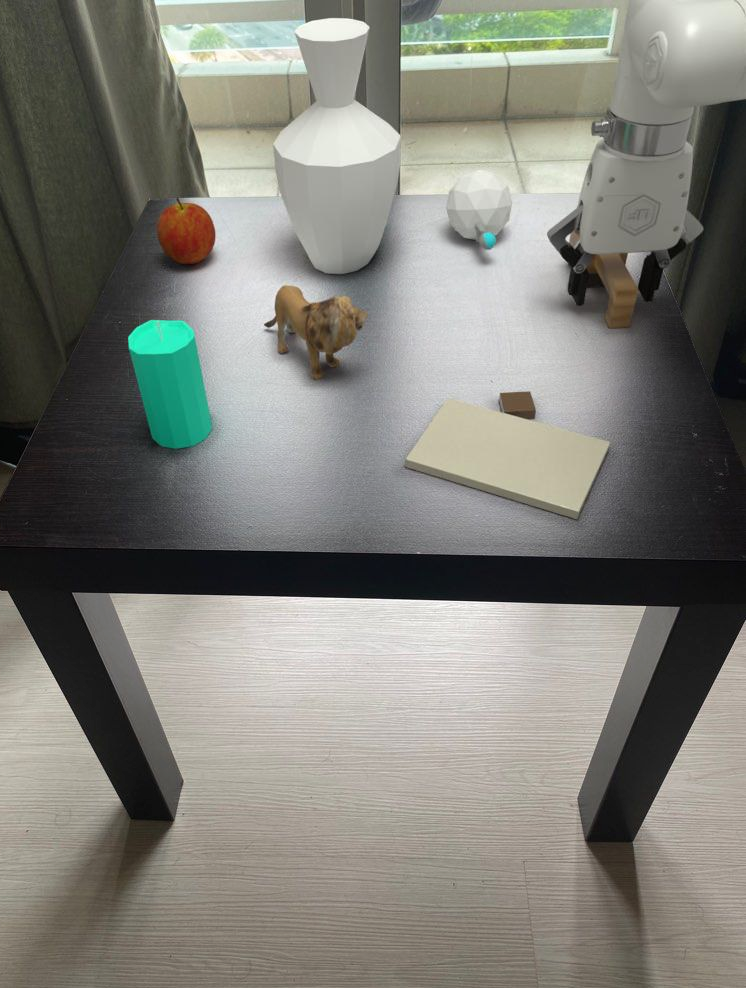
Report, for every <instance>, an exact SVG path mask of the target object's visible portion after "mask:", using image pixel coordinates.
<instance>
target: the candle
mask: <svg viewBox="0 0 746 988" xmlns="http://www.w3.org/2000/svg"><path fill="white" fill-rule="evenodd" d="M127 341H128V350H129V355H130V357H131V362H132V366H133V369H134V372H135V377H136V381H137V385H138V388H139V392H140V396H141V397H140V398H141V400H142V405H143V408H144V412H145V416H146V420H147V423H148V427H149V431H150V436H151V438H152V440H153V441H155V442H156V443H157V444H158V445H159V446H160V447H164V448H169V449H175V450H177V449H184V448H191V447H193V446H196V445H197V444H199V443H202V442H203V441H204V440H206V439H207V438H208V436H209V435H210V433H211V432H212V431H213V426H212V425H213V424H212V418H211V414H210V407H209V404H208V398H207V392H206V387H205V382H204V381H205V380H204V377H203V371H202V366H201V361H200V355H199V350H198V346H197V340H196V335H195V331H194V329H193V328H192V327H191V326H190V325H189V324H187V322H185V321H184V320H166V319H165V320H163V319H150V320H148V321H146V322H144V323H142V324H140V325H139V326H137V327H135V329H134V330H133V331H132V332H131V333H130V334H129V336H128V337H127Z"/></svg>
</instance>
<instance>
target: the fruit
mask: <svg viewBox="0 0 746 988" xmlns="http://www.w3.org/2000/svg"><path fill="white" fill-rule="evenodd" d="M176 202H177V203H176V204H172V205H170V206H168V207H167V208H165V209H164V210H163V211H162V212H161V214H160V216H159V218H158V221H157V226H156V227H157V228H156V231H157V232H156V233H157V240H158V243H159V246H160V248H161V249H162V251H163V252H164V254H166V255H167V257H169V258H170V259H172V260H173V261H174V262H176V263H178V264H182V265H193V264H194V265H195V264H198V263H200V262H201V261H203V260H204V259H205V258H206V257H208V255H210V253H211V252H212V250H213V249H214V246H215V243H216V227H215V224H214V222H213V221H214V220H213V219H212V217H211V215H210V214H209V212H208V211H207V210H206V209H205V208H204V207H202V206H201V205H199V204H197V203H193V202H192V203H191V202H181V200H180V199H179V197H177V198H176Z"/></svg>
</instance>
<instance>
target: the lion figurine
mask: <svg viewBox="0 0 746 988" xmlns="http://www.w3.org/2000/svg"><path fill="white" fill-rule="evenodd" d="M274 313H275V316H274V317H273V318H272V319H271V320H268V321H267V322H265V323H263V326H264V327H266V328H267V329H270V328H272V327H274V326H275V325H276V324H277V352H278V353H280V354H285V353H287V352H289V350H290V349H289V346H288V344H287V342H286V337H285V336H286V334H285V329H286V330H287V331H288V333H291V334H294V333H295V334H296V335H297V336H298V337H299V338H300V339H301V340H302V341H305V344H306V349H307V353H308V354H307V355H308V359H309V364H310V376H311V378H312V379H313V380H320V379H322V378H323V377H324V373H323V369H322V366H321V364H320V353H324V354H325V363H326V365H328V366H329V367H331V368H337V367H339V365H340V364H341V362H340V359H339V358H338V357H337V358H336V357H334V354H336V353H338V352H339V351H341V350H342V349H343V348H346V347H348V346H349V347H350V345H351V344H353V343H354V341H355V339H356V337H357V335H358V332H361V331H362V330H363V326H364V325H365V324H366V322H367V317H368V313H367V312H366V311H364V310H361V309H358V308H357V307H356V306H355V304H352V300H351V297H349V296H345V295H339V296H336V295H334V296H333V297H332V296H331V297H330V298H327V299H324V300H321V301H318V302H314V301H313V302H311V303H310V302H309V301H308V300H307V299H306V298H305V297H304V294H303V292H302V290H301V289H300V288H299V287H298V286H294V285H286V284H283V285H282V286H281V287H280V288H279V289H278V290H277V293H276V294H275V300H274Z"/></svg>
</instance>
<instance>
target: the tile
mask: <svg viewBox="0 0 746 988" xmlns="http://www.w3.org/2000/svg"><path fill="white" fill-rule="evenodd" d="M610 448H611V441H609V440H605V439H602V438H598V437H594V436H590V435H586V434H582V433H579V432H575V431H572V430H568V429H564V428H561V427H557V426H553V425H550V424H547V423H542V422H539V421H534V420H531V419H529V418H527V419H524V418H520V417H517V416H513V415H509V414H506V413H502V411H497V410H494V409H489V408H486V407H483V406H479V405H475V404H473V403H468V402H466V401H461V400H457V399H454V398H450V397H447V398H446V400H445V401H444V402H443V404H442V405H441V407H440V408H439V410H438V411H437V412H436V414H435V416H434V417H433V418H432V419H431V421H430V423H429V424H428V426H427V427H426V429H425V430H424V431H423V433H422V434H421V436H420V437H419V439H418V440H417V442H416V443H415V444H414V446H413V448H412V449H411V451H410V452H409V453H408V455H407V456H406V457H405V459H404V460H405V463H404V464H405V465H404V467H405V468H408V469H411V470H414V471H418V472H421V473H424V474H427V475H430V476H434V477H437V478H439V479H443V480H447V481H450V482H454V483H456V484H460V485H463V486H466V487H468V488H469V487H470V488H473V489H475V490H480V491H481V492H486V493H489V494H493V495H496V496H499V497H502V498H505V499H508V500H512V501H515V502H519V503H522V504H525V505H528V506H531V507H534V508H539V509H542V510H545V511H548V512H551V513H554V514H558V515H561V516H565V517H568V518H570V519H574V520H578V518H579V516H580V515H581V512H582V510H583V507H584V505H585V503H586V501H587V499H588V497H589V494H590V493H591V490H592V488H593V486H594V483H595V481H596V479H597V477H598V475H599V473H600V470H601V468H602V466H603V464H604V462H605V459H606V457H607V454H608V452H609V450H610Z"/></svg>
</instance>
